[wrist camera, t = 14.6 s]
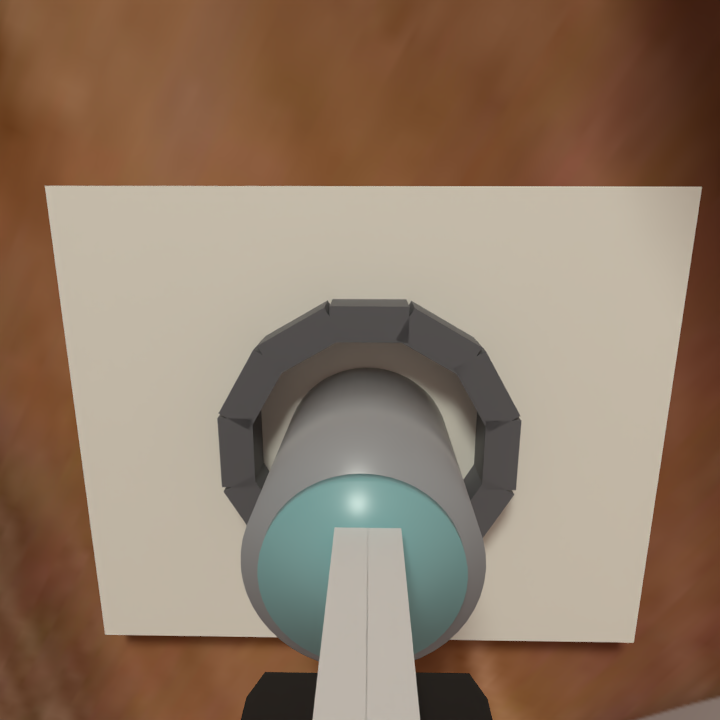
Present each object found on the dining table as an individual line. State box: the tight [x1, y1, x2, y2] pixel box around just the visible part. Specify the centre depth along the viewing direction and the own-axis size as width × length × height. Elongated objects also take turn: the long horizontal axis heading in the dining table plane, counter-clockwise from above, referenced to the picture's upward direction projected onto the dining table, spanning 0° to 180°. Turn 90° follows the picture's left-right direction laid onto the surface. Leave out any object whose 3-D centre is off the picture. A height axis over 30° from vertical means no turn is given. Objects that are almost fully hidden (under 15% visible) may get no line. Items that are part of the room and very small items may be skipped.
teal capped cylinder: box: [241, 368, 486, 661], centre depth 17 cm, size 6×6×8 cm
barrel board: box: [45, 186, 702, 643], centre depth 21 cm, size 22×18×3 cm
